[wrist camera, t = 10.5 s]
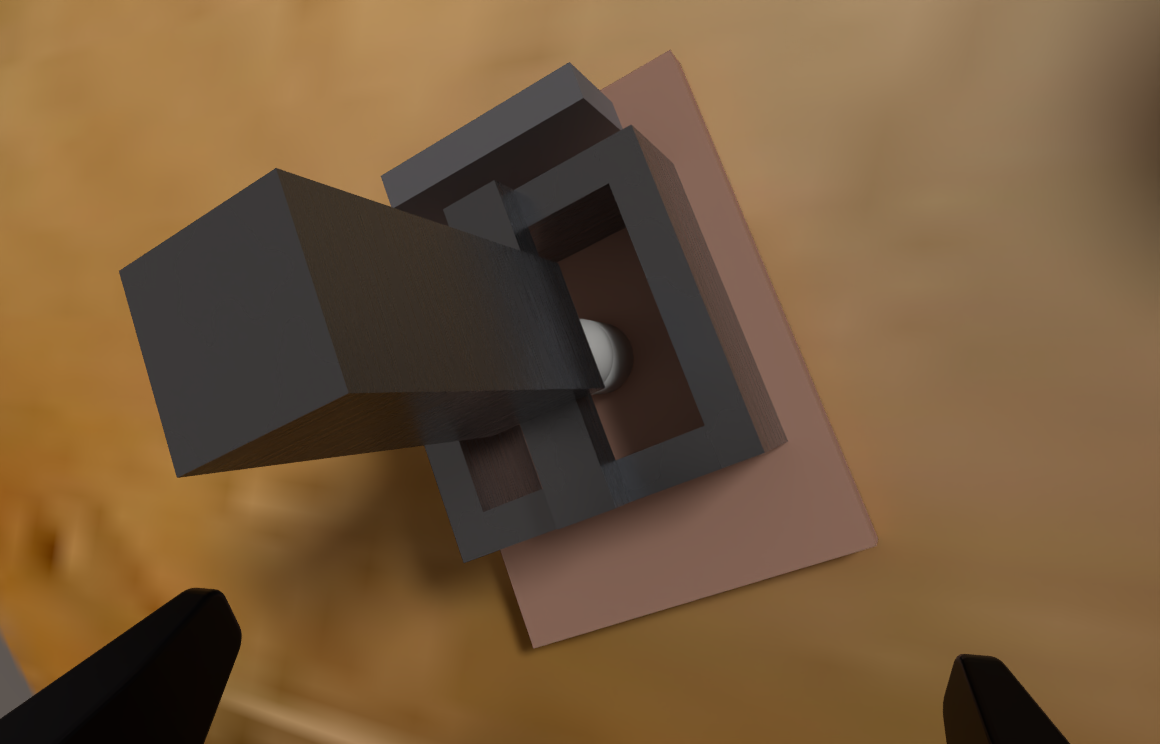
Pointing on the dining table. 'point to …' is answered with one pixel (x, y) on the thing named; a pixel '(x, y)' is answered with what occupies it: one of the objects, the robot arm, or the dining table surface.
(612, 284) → the plate
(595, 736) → the dining table surface
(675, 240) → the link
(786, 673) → the dining table surface
